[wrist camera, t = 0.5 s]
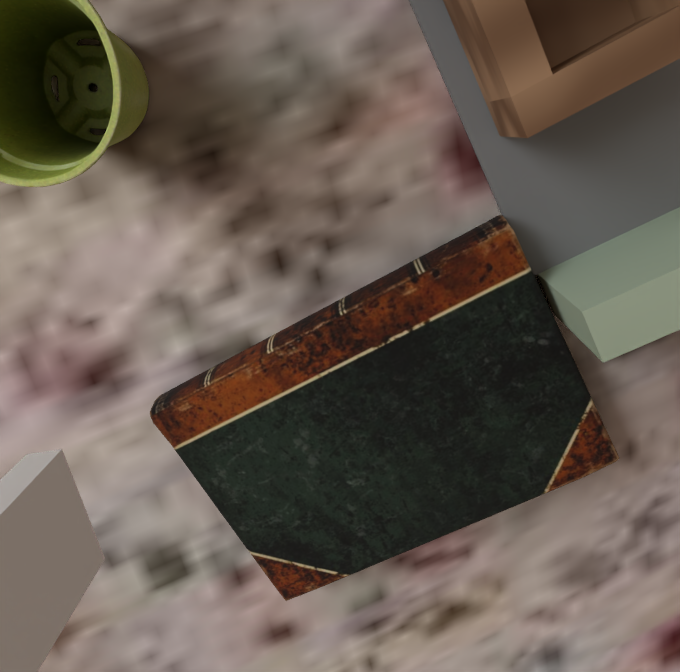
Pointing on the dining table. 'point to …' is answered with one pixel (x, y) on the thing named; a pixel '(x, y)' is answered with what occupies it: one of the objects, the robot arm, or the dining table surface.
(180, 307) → the dining table surface
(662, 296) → the wall
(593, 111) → the runner mat
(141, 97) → the plant pot
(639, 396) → the dining table surface
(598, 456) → the book
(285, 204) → the dining table surface
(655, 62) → the socket block
